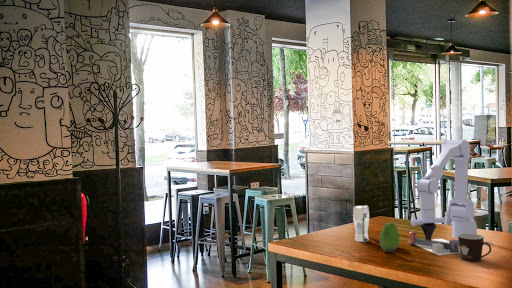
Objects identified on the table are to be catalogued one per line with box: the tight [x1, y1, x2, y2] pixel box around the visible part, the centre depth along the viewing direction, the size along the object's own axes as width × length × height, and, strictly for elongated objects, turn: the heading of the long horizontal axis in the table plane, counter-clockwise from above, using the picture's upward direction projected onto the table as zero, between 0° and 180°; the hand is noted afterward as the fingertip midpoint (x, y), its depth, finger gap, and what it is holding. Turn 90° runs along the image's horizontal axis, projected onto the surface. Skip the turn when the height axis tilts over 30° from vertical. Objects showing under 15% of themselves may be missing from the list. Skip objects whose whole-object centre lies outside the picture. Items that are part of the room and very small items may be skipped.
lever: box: [408, 230, 460, 252], centre depth 195 cm, size 21×4×5 cm, turn 44°
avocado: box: [378, 222, 400, 253], centre depth 197 cm, size 8×8×12 cm
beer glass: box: [352, 205, 370, 243], centre depth 217 cm, size 7×7×15 cm
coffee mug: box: [457, 233, 492, 263], centre depth 177 cm, size 12×9×10 cm
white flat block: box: [415, 238, 460, 256], centre depth 197 cm, size 16×22×4 cm
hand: (428, 241), depth 198 cm, fingers closed
